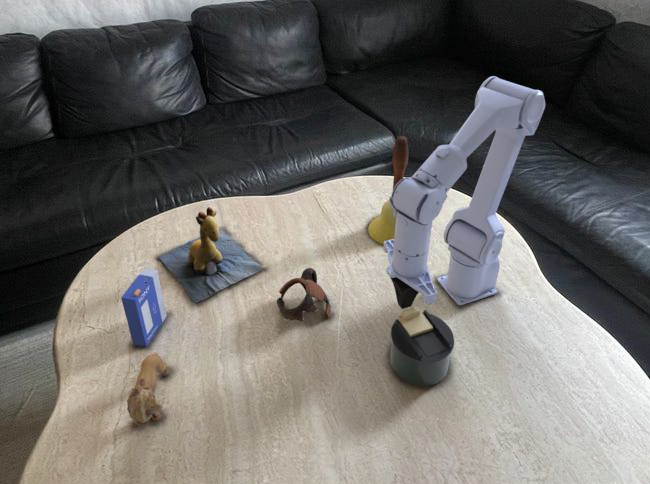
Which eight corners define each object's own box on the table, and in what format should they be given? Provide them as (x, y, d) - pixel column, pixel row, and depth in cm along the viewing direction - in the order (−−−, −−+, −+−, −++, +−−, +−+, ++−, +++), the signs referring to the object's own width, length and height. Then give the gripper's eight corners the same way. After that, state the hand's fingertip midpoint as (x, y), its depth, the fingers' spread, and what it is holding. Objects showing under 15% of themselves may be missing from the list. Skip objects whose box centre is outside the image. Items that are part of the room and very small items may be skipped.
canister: (377, 347, 93) (380, 317, 89) (428, 330, 96) (432, 300, 92) (407, 396, 84) (411, 366, 80) (462, 375, 88) (468, 345, 84)
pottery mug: (333, 332, 96) (312, 311, 91) (290, 340, 100) (268, 320, 95) (336, 276, 105) (317, 254, 100) (296, 285, 108) (276, 265, 104)
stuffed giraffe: (195, 303, 102) (186, 237, 95) (158, 258, 114) (148, 197, 107) (263, 271, 111) (260, 208, 104) (222, 232, 123) (216, 174, 116)
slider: (396, 319, 90) (397, 311, 89) (419, 311, 91) (420, 304, 91) (409, 337, 86) (410, 330, 86) (433, 329, 88) (434, 322, 87)
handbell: (371, 212, 129) (376, 122, 116) (421, 218, 126) (431, 127, 114) (365, 243, 118) (370, 148, 106) (419, 250, 116) (430, 154, 104)
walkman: (146, 347, 93) (134, 298, 87) (133, 344, 93) (120, 295, 88) (168, 314, 100) (158, 267, 94) (155, 312, 100) (144, 265, 94)
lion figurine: (168, 440, 78) (159, 403, 73) (131, 448, 77) (120, 411, 72) (170, 361, 90) (162, 324, 86) (138, 366, 89) (129, 330, 85)
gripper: (369, 225, 89) (366, 284, 96) (413, 280, 77) (405, 342, 84) (405, 216, 91) (399, 274, 98) (452, 268, 80) (442, 330, 86)
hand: (404, 305), depth 91 cm, fingers closed
